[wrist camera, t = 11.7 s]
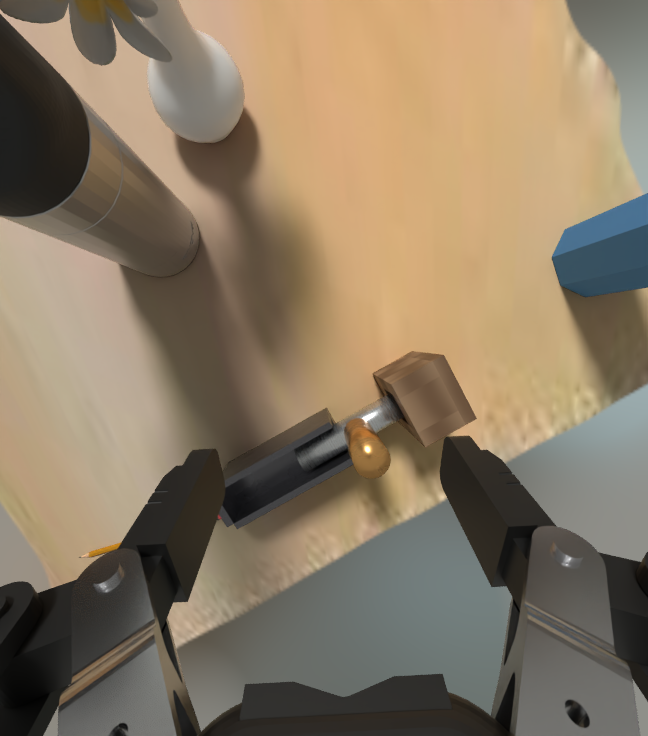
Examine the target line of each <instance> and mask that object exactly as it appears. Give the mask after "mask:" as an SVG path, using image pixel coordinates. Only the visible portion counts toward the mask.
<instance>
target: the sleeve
mask: <svg viewBox="0 0 648 736" xmlns="http://www.w3.org/2000/svg"><path fill="white" fill-rule="evenodd" d="M334 424H336V423H335V421H334V420H333V418H332V416H331V414H330V413H329V411H328V409H327V408H325V409H323V410H322V411H320V412H318V413H316V414H314V415H313V416H311V417H309V418H307V419H306V420H304V421H302V422H300V423H298V424H297V425H295V426H293V427H291V428H289V429H288V430H286V431H284V432H282V433H281V434H279V435H277V436H275V437H273V438H272V439H270V440H268V441H266V442H265V443H263V444H261V445H259V446H257V447H256V448H254V449H252V450H250V451H249V452H247V453H245V454H243V455H241V456H240V457H238V458H236V459H234V460H232V461H231V462H229V463H228V464H227V466H226V467H225V469H224V470H223V477H224V481H225V496H224V501H223V504H222V506H221V509H220V512H219V515H220V517H221V518H222V520H223V522H224V523H225V525H226V526H227V527H229V526H231V525H232V524H234V525H235V526H236V528H237V529H238V528H240V527H242V526H244V525H246V524H247V523H249V522H251V521H253V520H255V519H256V518H258V517H260V516H262V515H264V514H265V513H267V512H269V511H271V510H272V509H274V508H276V507H278V506H280V505H281V504H283V503H285V502H287V501H289V500H290V499H292V498H294V497H296V496H298V495H299V494H301V493H303V492H305V491H307V490H308V489H310V488H312V487H314V486H316V485H317V484H319V483H321V482H323V481H325V480H326V479H328V478H330V477H332V476H333V475H335V474H337V473H339V472H341V471H342V470H344V469H346V468H348V467H350V466H351V465H353V461H352V458H351V455H350V452H349V449H347V450H345V451H343V452H341V453H339V454H338V455H336V456H334V457H332V458H330V459H329V460H327V461H325V462H323V463H322V464H320V465H318V466H316V467H314V468H313V469H311V470H309V471H307V472H306V471H304V470H303V468H302V467H301V465H300V464H299V462H298V460H297V458H296V455H295V452H294V449H295V448H297V447H299V446H301V445H303V444H304V443H306V442H308V441H310V440H312V439H313V438H315V437H317V436H319V435H320V434H322V433H324V432H326V431H328V430H329V429H331V428H333V426H332V425H334Z"/></svg>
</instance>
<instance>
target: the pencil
mask: <svg viewBox="0 0 648 736" xmlns="http://www.w3.org/2000/svg"><path fill="white" fill-rule="evenodd" d="M219 519H222V518H221V517H220V515H218V518H217V520H219ZM120 544H121V543H118V544H115V545H112V546H108V547H105V548H101V549H98V550H95V551H91V552H89V553H87V554H85V555H83V556H81V557H79V558H82V557H92V556H95V555H99V554H102V553H106V552H109V551H112V550H116V549H118V547H119V546H120Z"/></svg>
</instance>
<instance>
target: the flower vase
mask: <svg viewBox="0 0 648 736" xmlns="http://www.w3.org/2000/svg"><path fill="white" fill-rule="evenodd" d="M68 3H69V14H70V24H71V30H72V34H73V38H74V41H75V43H76V45H77V47H78V49H79V51H80V52H81V53H82V55H83V56H84V57H85V58H86V59H88V60H89V61H90V62H92V63H94V64H99V65H101V66H102V65H107V64H109V63H111V62H112V61H113V60H114V57H115V55H116V38H115V33H114V28H113V23H112V20H113V22H114V24H115V26H116V28H117V30H118V31H119V33H120V35H121V36H122V37H123V38H124V39H125V40H126V41H127V42H128V43H129V44H130V45H131V46H132V47H134V48H135V49H136V50H138V51H139V52H141V53H142V54H144V55H146V56H148V57H150V58H149V61H148V70H147V81H148V89H149V94H150V97H151V99H152V102H153V105H154V107H155V110H156V112H157V113H158V115H159V116H160V118H161V119H162V121H163V122H164V123H165V125H166V126H167V127H169V128H170V129H171V130H172V131H173V132H174V133H175V134H177V135H179V136H181V137H183V138H185V139H187V140H189V141H193V142H198V143H215V142H218V141H221V140H223V139H224V138H226V137H227V136H228V135H229V134H230V132H231V131H232V130H233V129H234V127H235V126H236V125H237V123H238V121H239V119H240V117H241V114H242V112H243V106H244V99H245V94H244V85H243V80H242V77H241V75H240V72H239V69H238V67H237V65H236V63H235V62H234V60H233V59H232V57H231V56H230V54H229V52H228V51H227V50H226V49H225V48H224V47H223V46H222V45H221V44H220V43H219V42H218V41H217V40H216V39H214V38H213V37H211V36H209V35H207V34H206V33H204V32H202V31H199V30H195V28H194V27H193V26H192V25H191V23H190V22H189V20H188V18H187V17H186V15H185V13H184V11H183V9H182V7H181V4H180V2H179V0H0V9H1V10H2V11H3V13H5V14H7V15H8V16H10V17H13V18H15V19H19V20H22V21H27V22H31V23H52V22H56V21H59V20H60V19H62V18H63V17H64V15H65V13H66V10H67V7H68ZM110 16H111V17H110ZM138 16H139V17H141V19H142V21H143V22H142V21H141V20H140V19H139V17H138ZM111 18H112V20H111Z"/></svg>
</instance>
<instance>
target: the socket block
mask: <svg viewBox="0 0 648 736" xmlns="http://www.w3.org/2000/svg"><path fill="white" fill-rule="evenodd" d="M373 375H374V377H375V379H376V381H377V383H378V385H379V386H380V388H381V390H382V392H383V394H384V396H386V395H387V394H389V393H391V394H392V395H393V397H394V398H395V400H396V402H397V404H398V406H399V408H400V409H401V411H402V413H403V415H404V418H402V419H400V420H398V421H399V422H400V423H401V424H402V425H403V426H404V427H405V428H406V429H407V430H408V431H409V432H410V433H411V434H412V435H413V436H414V437H415V438H416V439H417V440H418V441H420V442H421V443H422V444H423V445H424V446H425V447H427V446H429V445H430V444H432V443H434V442H436V441H437V440H439V439H441V438H443V437H445V436H446V435H448V434H450V433H452V432H454V431H455V430H457V429H459V428H461V427H463V426H464V425H466V424H468V423H470V422H472V421H473V420H475V419H477V418H476V416H475V414H474V412H473V410H472V409H471V407H470V405H469V403H468V401H467V399H466V397H465V395H464V393H463V391H462V389H461V387H460V385H459V383H458V382H457V380H456V378H455V376H454V374H453V372H452V370H451V368H450V366H449V364H448V362H447V360H446V358H445V356H444V355H440V354H431V353H422V352H414V351H412V352H410V353H408V354H407V355H405V356H403V357H401V358H400V359H398V360H396V361H394V362H392V363H391V364H389V365H387V366H385V367H383V368H382V369H380V370H378V371H376V372H375V373H373Z"/></svg>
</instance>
